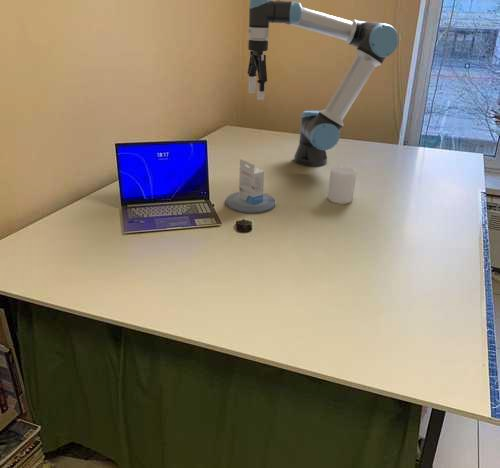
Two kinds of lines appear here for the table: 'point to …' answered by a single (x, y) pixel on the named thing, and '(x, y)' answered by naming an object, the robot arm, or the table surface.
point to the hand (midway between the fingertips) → (256, 96)
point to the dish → (246, 207)
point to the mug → (341, 184)
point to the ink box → (251, 183)
